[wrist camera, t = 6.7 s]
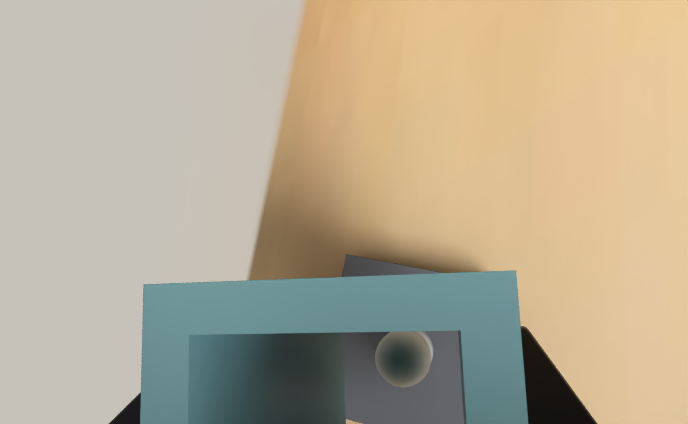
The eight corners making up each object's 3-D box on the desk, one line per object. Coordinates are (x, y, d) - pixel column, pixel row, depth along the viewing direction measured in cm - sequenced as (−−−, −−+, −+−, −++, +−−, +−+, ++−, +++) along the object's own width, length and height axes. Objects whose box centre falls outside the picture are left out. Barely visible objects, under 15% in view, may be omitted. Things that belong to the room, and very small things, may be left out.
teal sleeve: (489, 451, 15) (553, 741, 6) (324, 447, 16) (134, 685, 7) (477, 279, 16) (516, 270, 6) (320, 285, 17) (143, 284, 7)
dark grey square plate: (476, 443, 19) (483, 489, 15) (323, 403, 21) (289, 435, 16) (502, 284, 20) (516, 285, 16) (352, 256, 21) (326, 248, 17)
